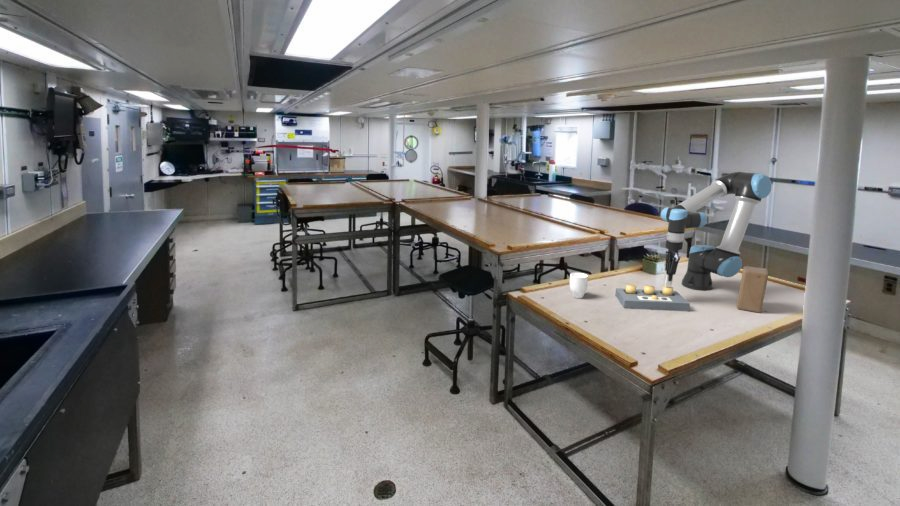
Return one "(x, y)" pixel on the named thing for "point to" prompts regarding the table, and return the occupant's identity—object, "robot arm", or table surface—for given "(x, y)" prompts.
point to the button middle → (649, 290)
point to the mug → (578, 284)
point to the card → (654, 298)
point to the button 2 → (667, 291)
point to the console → (634, 302)
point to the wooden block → (752, 289)
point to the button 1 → (630, 289)
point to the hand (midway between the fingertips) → (668, 286)
